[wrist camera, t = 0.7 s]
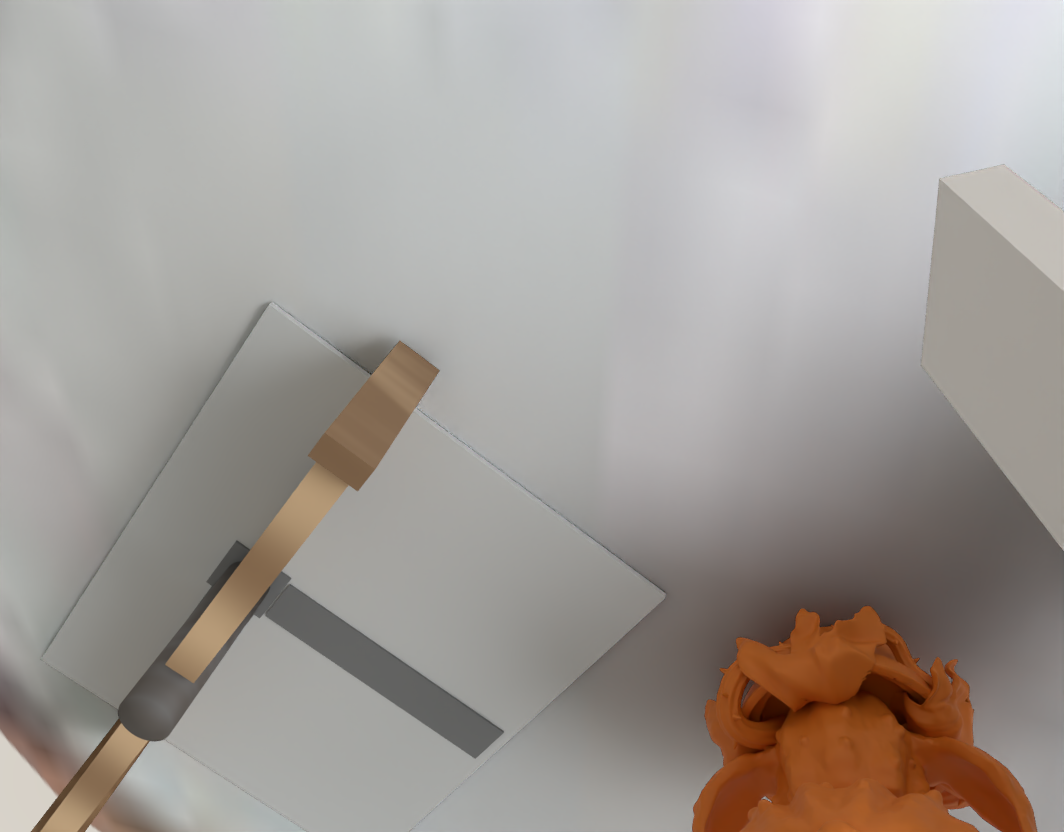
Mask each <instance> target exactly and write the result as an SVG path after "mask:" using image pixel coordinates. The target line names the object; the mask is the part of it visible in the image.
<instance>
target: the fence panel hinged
mask: <svg viewBox="0 0 1064 832" xmlns="http://www.w3.org/2000/svg"><path fill="white" fill-rule="evenodd" d="M439 371H440V370H438V369H437V368H436V367H434V366H433V365H432V364H430V363H429V362H428V361H426V360H425V359H424V358H422V357H421V356H420V355H418V354H417V353H416V352H414V351H413V350H412V349H410V348H409V347H408V346H406V345H405V344H404V343H402V342H401V341H399V342H398V343H397V344H396V346H395V347H394V348H393V349H392V351H391V352H390V353H389V354H388V355H387V357H386V358H385V359H384V360H383V362H382V363H381V364H380V365H379V366H378V368H377V369H376V370H375V371H374V373H373V374H372V375H371V376H370V377H369V379H368V380H367V381H366V382H365V384H364V385H363V386H362V387H361V389H360V390H359V391H358V392H357V393H356V395H355V396H354V397H353V398H352V400H351V401H350V402H349V403H348V404H347V406H346V407H345V408H344V409H343V411H342V412H341V413H340V414H339V415H338V417H337V418H336V419H335V420H334V422H333V423H332V424H331V425H330V427H329V428H328V429H327V430H326V431H325V433H324V434H323V435H322V437H321V438H320V439H319V441H318V442H317V443H316V445H315V446H314V448H313V449H312V450H311V452H310V453H309V454H308V456H309V457H310V458H311V459H313V460H314V461H316V463H315V464H314V465H313V467H312V468H311V469H310V471H309V472H308V473H307V475H306V476H305V478H304V479H303V480H302V482H301V483H300V484H299V486H298V487H297V488H296V490H295V491H294V492H293V494H292V495H291V496H290V498H289V499H288V500H287V502H286V503H285V504H284V506H283V507H282V508H281V510H280V511H279V512H278V514H277V515H276V516H275V518H274V519H273V520H272V522H271V523H270V524H269V526H268V527H267V528H266V530H265V531H264V532H263V534H262V535H261V536H260V538H259V539H258V540H257V542H256V543H255V544H254V546H253V547H252V548H251V550H250V551H249V552H248V554H247V555H246V557H245V558H244V559H243V561H242V562H241V563H240V565H239V566H238V567H237V569H236V570H235V571H234V573H233V574H232V575H231V577H230V578H229V579H228V581H227V582H226V583H225V585H224V586H223V587H222V589H221V590H220V591H219V593H218V594H217V595H216V597H215V598H214V599H213V601H212V602H211V603H210V605H209V606H208V607H207V609H206V610H205V611H204V613H203V614H202V615H201V617H200V618H199V619H198V621H197V622H196V623H195V625H194V626H193V627H192V629H191V630H190V631H189V633H188V634H187V636H186V637H185V638H184V640H183V641H182V642H181V644H180V645H179V646H178V648H177V649H176V650H175V652H174V653H173V654H172V656H171V657H170V658H169V660H168V661H167V662H166V664H165V665H166V666H168V667H170V668H171V669H173V670H174V671H176V672H177V673H179V674H180V675H182V676H183V677H185V678H186V679H188V680H189V681H191V682H192V683H194V682H195V681H196V680H197V679H198V677H199V676H200V675H201V673H202V672H203V671H204V670H205V668H206V667H207V666H208V664H209V663H210V662H211V661H212V659H213V658H214V657H215V656H216V654H217V653H218V652H219V650H220V649H221V648H222V647H223V645H224V644H225V643H226V641H227V640H228V639H229V638H230V636H231V635H232V634H233V633H234V631H235V630H236V629H237V627H238V626H239V625H240V624H241V622H242V621H243V620H244V618H245V617H246V616H247V615H248V613H249V612H250V611H251V610H252V608H253V607H254V606H255V604H256V603H257V602H258V601H259V599H260V598H261V597H262V595H263V594H264V593H265V592H266V590H267V589H268V588H269V587H270V585H271V584H272V583H273V581H274V580H275V579H276V578H277V576H278V575H279V574H280V572H281V571H282V570H283V569H284V567H285V566H286V565H287V564H288V562H289V561H290V560H291V558H292V557H293V556H294V555H295V553H296V552H297V551H298V549H299V548H300V547H301V546H302V544H303V543H304V542H305V541H306V539H307V538H308V537H309V535H310V534H311V533H312V532H313V530H314V529H315V528H316V526H317V525H318V524H319V523H320V521H321V520H322V519H323V518H324V516H325V515H326V514H327V512H328V511H329V510H330V509H331V507H332V506H333V505H334V503H335V502H336V501H337V500H338V498H339V497H340V496H341V495H342V493H343V492H344V491H345V489H346V488H347V487H348V486H351V487H352V488H353V489H355V490H356V491H357V492H358V491H359V489H360V488H361V487H362V486H363V484H364V483H365V482H366V481H367V479H368V478H369V477H370V475H371V474H372V473H373V472H374V470H375V469H376V468H377V466H378V465H379V463H380V461H381V460H382V458H383V457H384V455H385V454H386V452H387V451H388V449H389V448H390V446H391V445H392V443H393V441H394V440H395V438H396V437H397V435H398V434H399V432H400V431H401V429H402V428H403V426H404V425H405V423H406V422H407V420H408V418H409V417H410V415H411V414H412V412H413V411H414V409H415V408H416V406H417V405H418V403H419V402H420V400H421V398H422V397H423V395H424V394H425V392H426V391H427V389H428V388H429V386H430V385H431V383H432V382H433V380H434V379H435V377H436V375H437V374H438V372H439Z"/></svg>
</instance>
